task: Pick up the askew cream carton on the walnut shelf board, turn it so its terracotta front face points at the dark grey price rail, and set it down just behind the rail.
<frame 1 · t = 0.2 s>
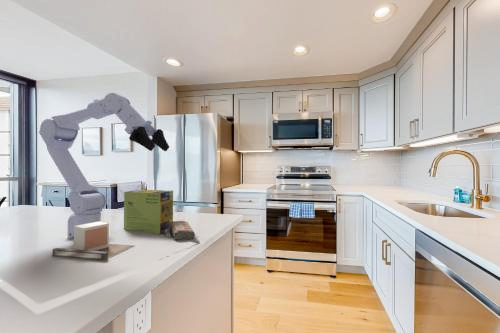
hand: (160, 148, 80), 31 cm above the countertop, tool tilted 45°, fingers open, 7 cm apart
packaged product: (180, 239, 88), on the countertop
protein box: (149, 230, 98), on the countertop
carton: (96, 250, 71), point 1 cm above the countertop, touching shelf
shelf: (96, 254, 70), on the countertop
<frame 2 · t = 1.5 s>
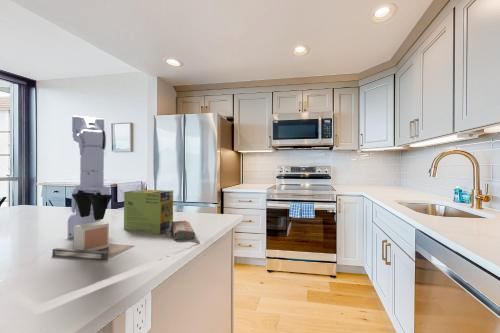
hand: (91, 218, 72), 10 cm above the countertop, tool pointing down, fingers open, 7 cm apart
nothing on the countertop moved.
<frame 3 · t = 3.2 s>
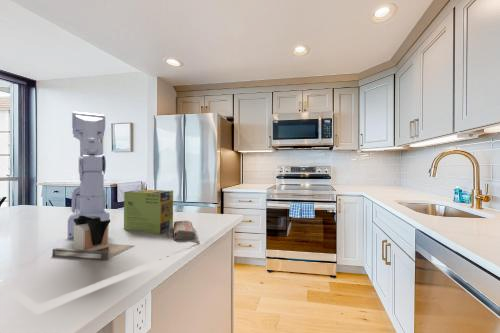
hand: (91, 242, 72), 3 cm above the countertop, tool pointing down, fingers closed on carton, 5 cm apart
carton: (96, 250, 71), point 1 cm above the countertop, touching gripper, shelf
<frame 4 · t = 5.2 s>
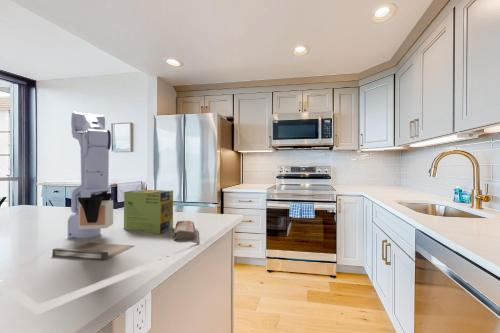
hand: (96, 220, 70), 10 cm above the countertop, tool pointing down, fingers closed on carton, 5 cm apart
carton: (92, 228, 67), point 8 cm above the countertop, touching gripper
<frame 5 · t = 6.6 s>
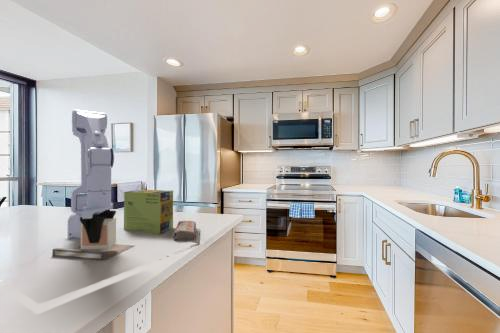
hand: (99, 239, 69), 5 cm above the countertop, tool pointing down, fingers closed on carton, 5 cm apart
carton: (94, 248, 66), point 3 cm above the countertop, touching gripper
when the fingers open (4 cm above the countertop, at t = 7.7 s): carton stays where it is, resting on shelf.
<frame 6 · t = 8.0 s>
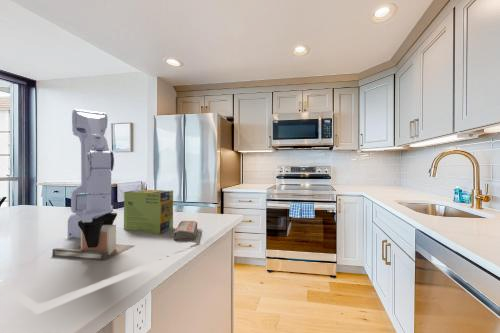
hand: (98, 242, 69), 4 cm above the countertop, tool pointing down, fingers open, 7 cm apart
carton: (94, 255, 66), point 1 cm above the countertop, touching shelf
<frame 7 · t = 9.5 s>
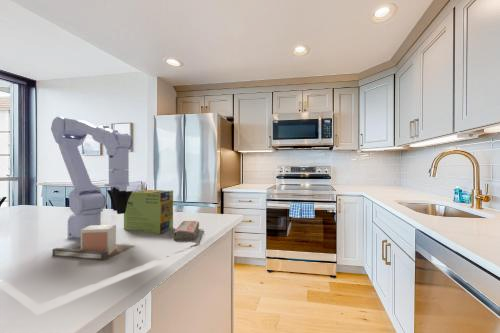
hand: (119, 211, 80), 10 cm above the countertop, tool pointing down, fingers open, 7 cm apart
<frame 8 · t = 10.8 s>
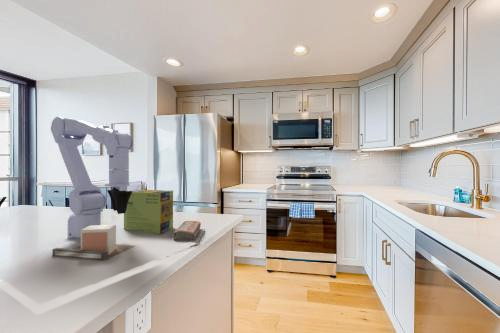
hand: (119, 211, 80), 10 cm above the countertop, tool pointing down, fingers open, 7 cm apart
at the end: carton 0.8 cm from the target spot, point 1.2 cm above the countertop; carton tilted 0°; the gripper is holding nothing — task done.
